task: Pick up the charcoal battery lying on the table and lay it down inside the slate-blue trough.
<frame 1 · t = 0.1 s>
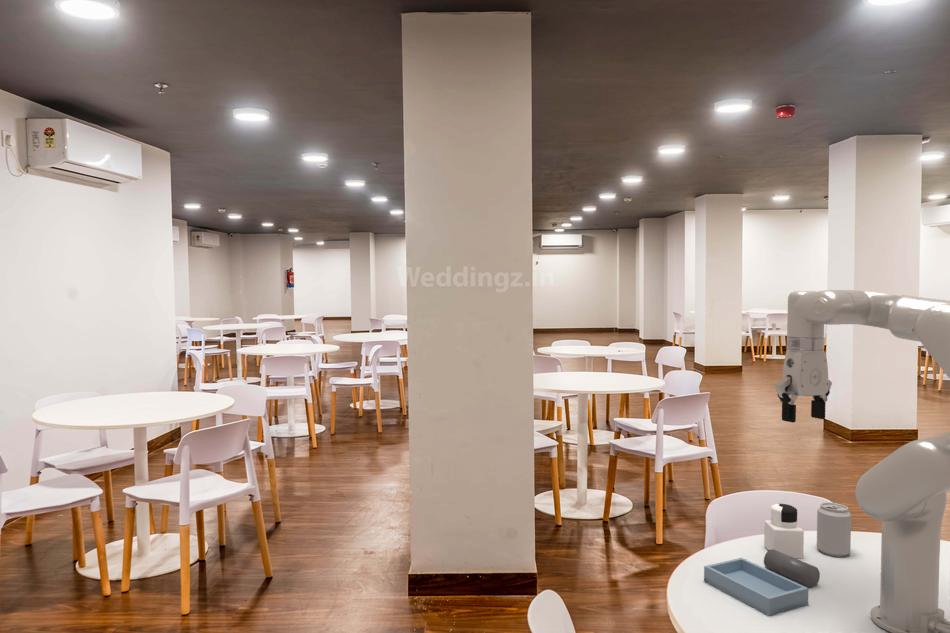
hand: (803, 419, 148), 37 cm above the table, tool pointing down, fingers open, 9 cm apart
battery: (790, 578, 149), on the table
medicine bottle: (783, 553, 164), on the table
can: (833, 552, 164), on the table
trough: (754, 592, 141), on the table
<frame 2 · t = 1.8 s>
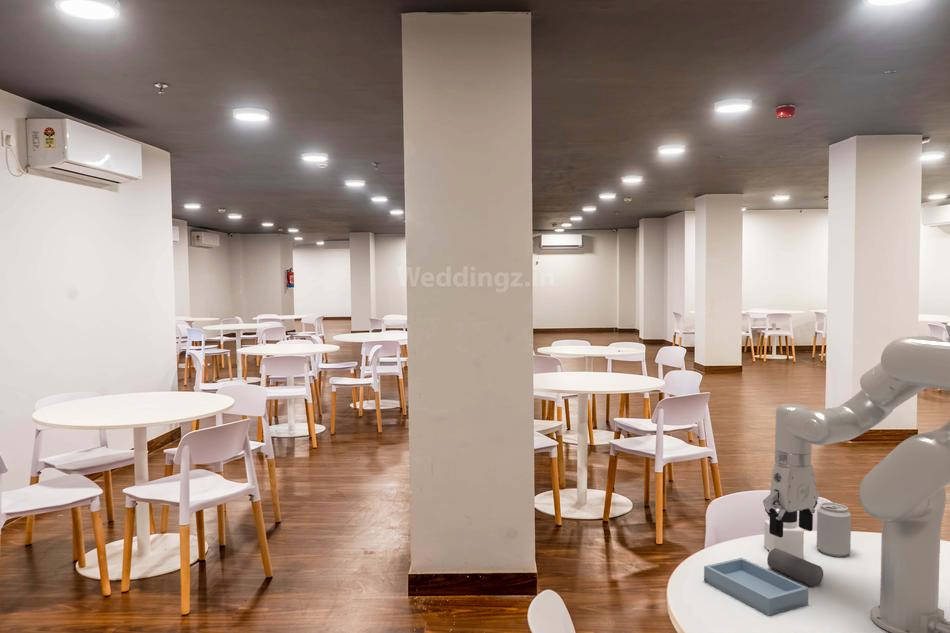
hand: (791, 532, 149), 11 cm above the table, tool pointing down, fingers open, 9 cm apart
battery: (790, 576, 149), on the table, tilted 31°
everything else where it was.
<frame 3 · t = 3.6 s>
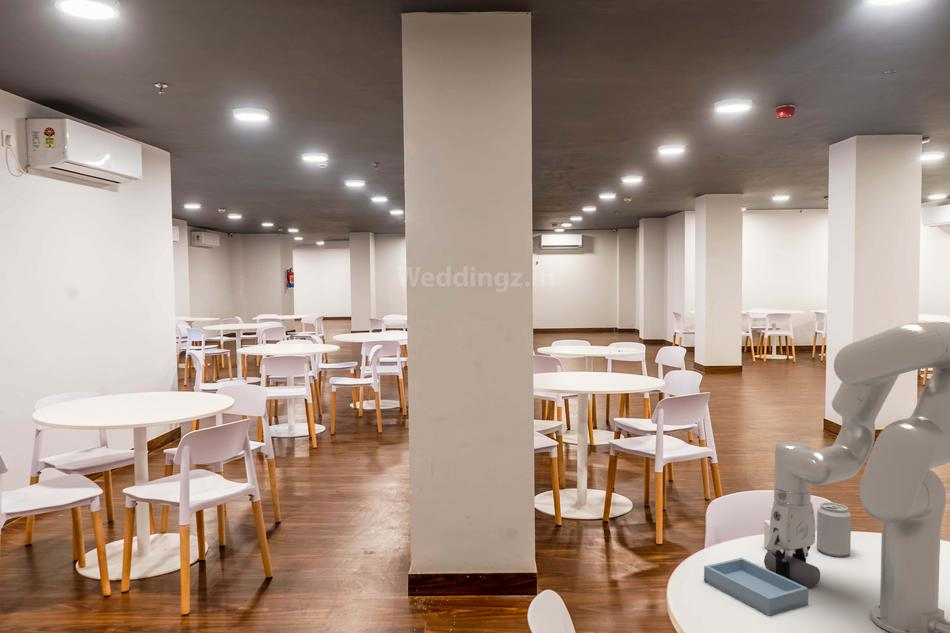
hand: (790, 573, 149), 1 cm above the table, tool pointing down, fingers closed on battery, 4 cm apart
battery: (790, 578, 149), on the table, tilted 8°, touching gripper
everything else where it was.
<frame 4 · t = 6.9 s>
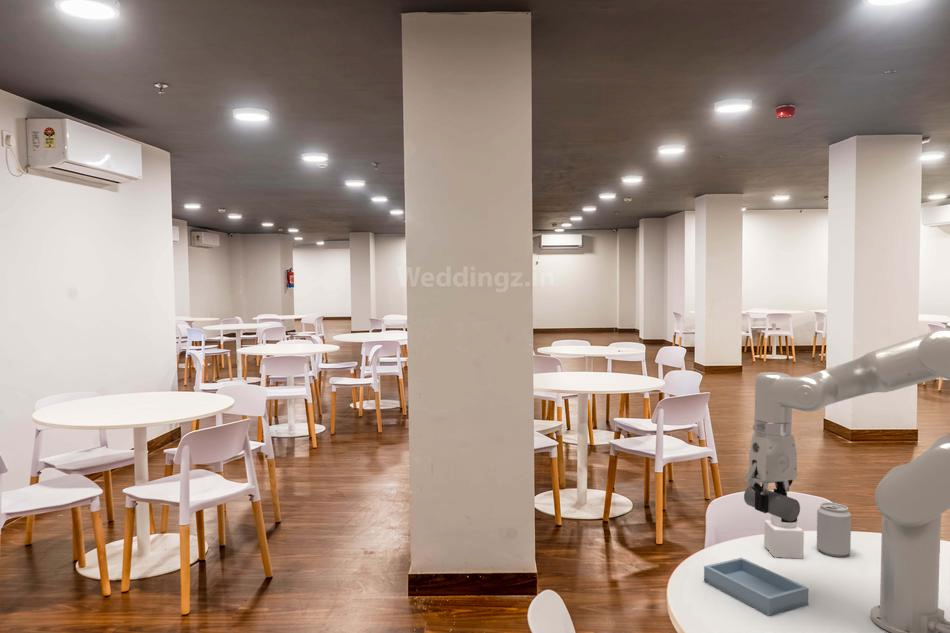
hand: (770, 508, 144), 17 cm above the table, tool pointing down, fingers closed on battery, 4 cm apart
battery: (769, 513, 143), point 17 cm above the table, tilted 9°, touching gripper
everything else where it was.
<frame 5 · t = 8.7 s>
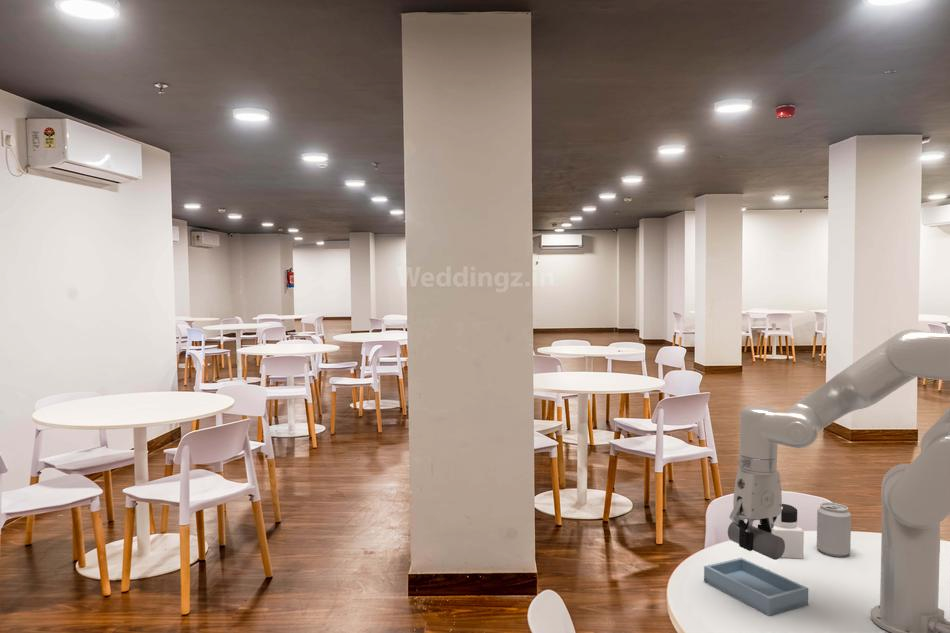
hand: (755, 545, 141), 10 cm above the table, tool pointing down, fingers closed on battery, 4 cm apart
battery: (754, 550, 140), point 10 cm above the table, tilted 9°, touching gripper
everything else where it was.
when the fingers open (4 cm above the table, at t = 10.3 s): battery drops 2 cm, resting on trough.
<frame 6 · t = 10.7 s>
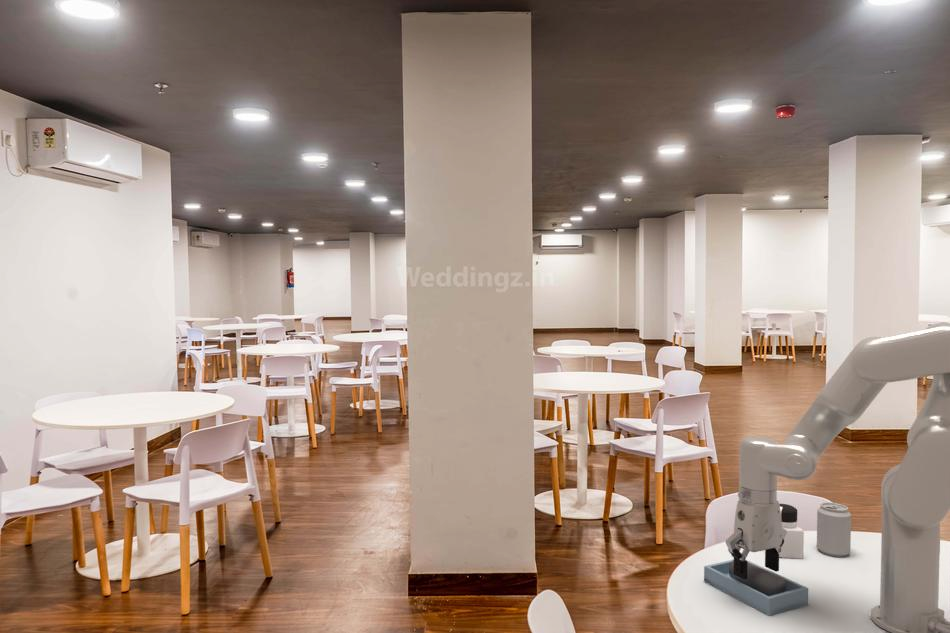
hand: (756, 572, 141), 5 cm above the table, tool pointing down, fingers open, 9 cm apart
battery: (755, 589, 140), point 1 cm above the table, tilted 8°, touching trough
everything else where it was.
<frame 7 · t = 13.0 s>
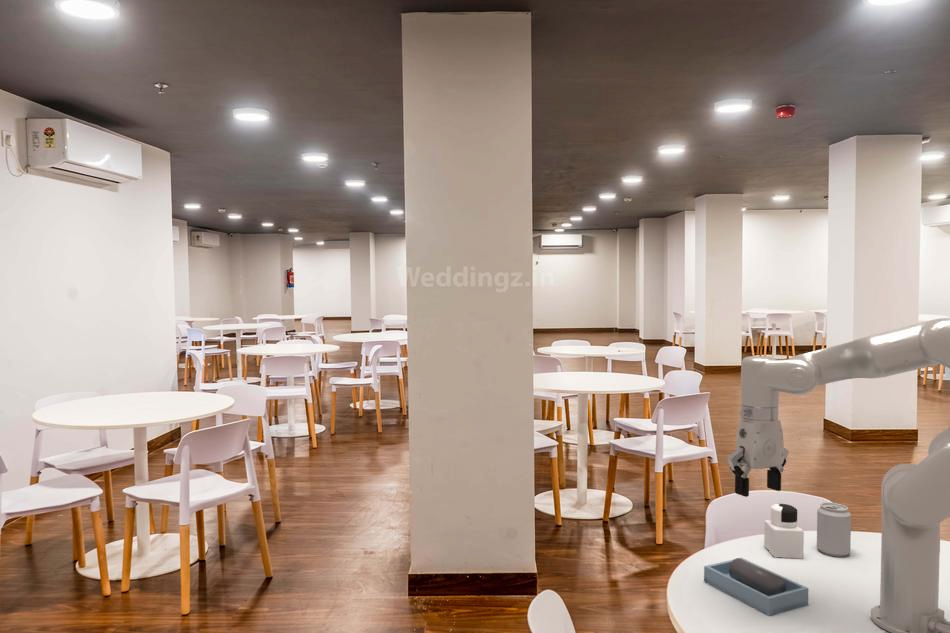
hand: (758, 492, 140), 22 cm above the table, tool pointing down, fingers open, 9 cm apart
nothing on the table moved.
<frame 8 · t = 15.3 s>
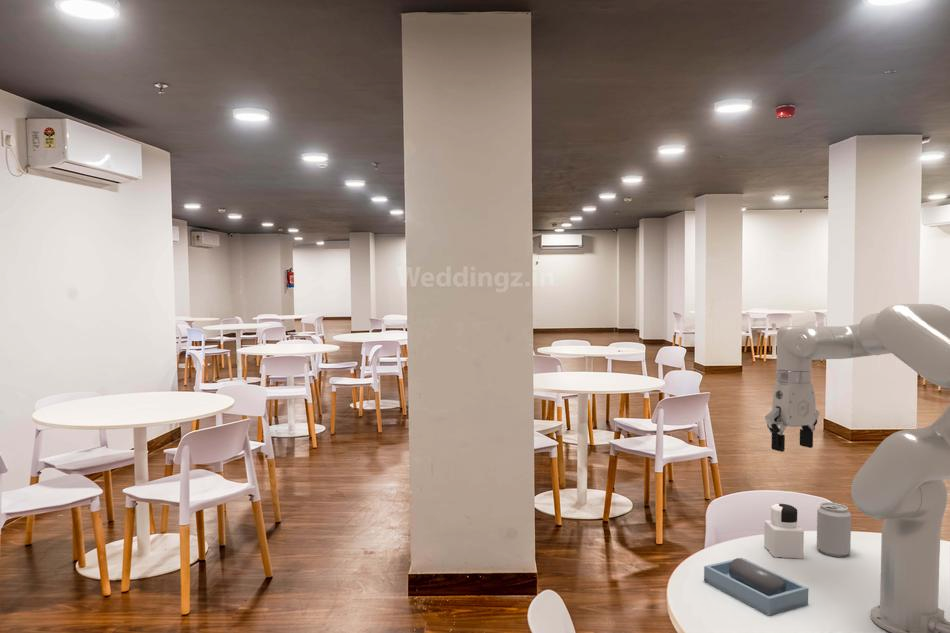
hand: (792, 448, 155), 28 cm above the table, tool pointing down, fingers open, 9 cm apart
nothing on the table moved.
at the end: battery inside the target area on the trough (0.7 cm from its centre), point 1.0 cm above the trough's base; battery touching trough; the gripper is holding nothing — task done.
